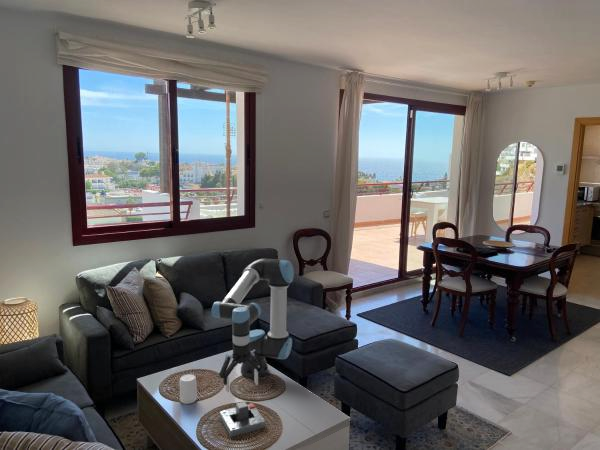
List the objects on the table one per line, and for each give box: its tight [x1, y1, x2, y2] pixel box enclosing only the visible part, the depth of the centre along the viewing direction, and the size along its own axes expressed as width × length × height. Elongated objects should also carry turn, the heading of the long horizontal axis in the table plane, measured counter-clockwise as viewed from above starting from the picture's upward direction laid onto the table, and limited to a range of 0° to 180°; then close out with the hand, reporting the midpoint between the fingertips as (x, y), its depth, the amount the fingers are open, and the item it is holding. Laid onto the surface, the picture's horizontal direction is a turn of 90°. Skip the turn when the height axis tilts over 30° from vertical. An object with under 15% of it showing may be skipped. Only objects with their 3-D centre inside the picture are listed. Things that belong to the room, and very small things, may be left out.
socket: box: [219, 402, 266, 438], centre depth 202 cm, size 16×16×4 cm
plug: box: [235, 401, 249, 422], centre depth 201 cm, size 4×4×8 cm
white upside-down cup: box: [178, 373, 198, 405], centre depth 218 cm, size 8×8×12 cm
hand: (242, 387), depth 199 cm, fingers open, 13 cm apart
